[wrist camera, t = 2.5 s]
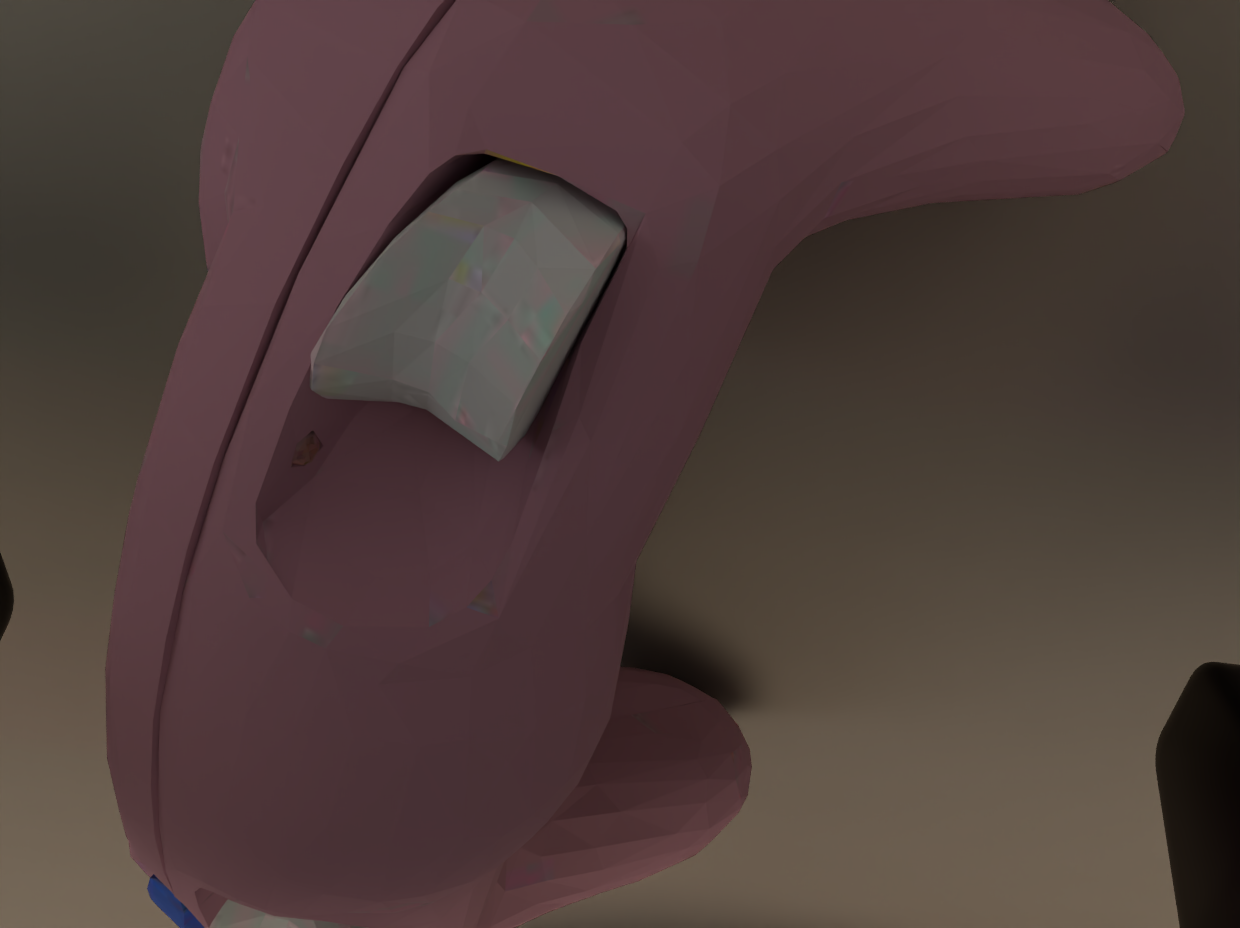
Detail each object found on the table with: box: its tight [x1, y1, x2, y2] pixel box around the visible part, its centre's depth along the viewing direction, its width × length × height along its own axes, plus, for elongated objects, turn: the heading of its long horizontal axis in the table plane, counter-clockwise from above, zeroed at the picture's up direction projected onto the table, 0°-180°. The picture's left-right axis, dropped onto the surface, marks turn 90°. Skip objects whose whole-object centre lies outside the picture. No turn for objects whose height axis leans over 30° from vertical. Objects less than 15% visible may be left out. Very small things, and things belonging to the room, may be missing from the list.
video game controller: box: [105, 0, 1185, 928], centre depth 9 cm, size 10×5×7 cm, turn 162°
